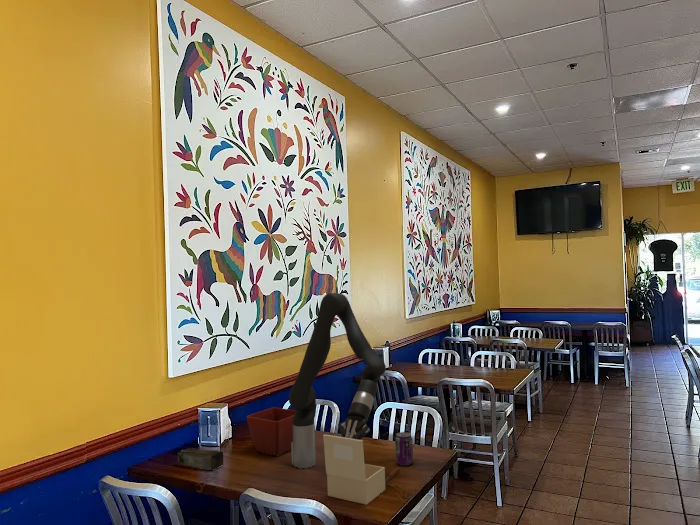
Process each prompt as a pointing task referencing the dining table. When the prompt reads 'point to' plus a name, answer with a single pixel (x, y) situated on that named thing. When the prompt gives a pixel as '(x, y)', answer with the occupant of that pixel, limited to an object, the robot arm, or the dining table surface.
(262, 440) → the plant pot
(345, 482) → the cardboard box
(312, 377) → the robot arm
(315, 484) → the dining table surface
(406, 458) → the beverage can
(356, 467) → the box lid
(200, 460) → the dark brown block
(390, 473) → the screwdriver
